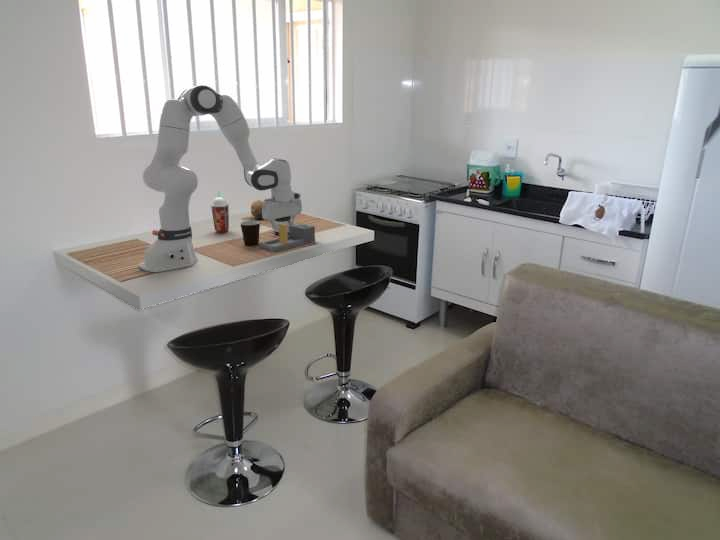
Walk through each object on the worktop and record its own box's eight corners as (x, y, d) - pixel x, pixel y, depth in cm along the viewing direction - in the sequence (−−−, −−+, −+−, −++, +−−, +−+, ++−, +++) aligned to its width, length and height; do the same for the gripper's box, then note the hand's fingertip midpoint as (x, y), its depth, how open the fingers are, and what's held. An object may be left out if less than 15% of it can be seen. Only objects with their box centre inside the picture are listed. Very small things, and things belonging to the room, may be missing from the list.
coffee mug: (256, 247, 239) (255, 225, 236) (238, 246, 240) (237, 224, 237) (266, 240, 250) (265, 219, 246) (249, 239, 251) (247, 218, 248)
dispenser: (274, 251, 232) (273, 234, 230) (260, 247, 238) (259, 231, 236) (314, 241, 249) (314, 225, 246) (300, 237, 255) (300, 221, 253)
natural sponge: (270, 216, 297) (269, 199, 294) (265, 220, 289) (264, 202, 286) (254, 216, 298) (253, 198, 295) (249, 219, 290) (247, 201, 287)
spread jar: (283, 236, 257) (282, 212, 253) (264, 233, 262) (263, 210, 258) (298, 231, 266) (297, 208, 263) (280, 228, 272) (278, 205, 268)
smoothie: (234, 231, 267) (231, 191, 260) (221, 234, 260) (218, 193, 254) (222, 228, 271) (219, 189, 265) (209, 232, 264) (206, 192, 258)
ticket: (286, 244, 240) (285, 225, 237) (279, 242, 243) (278, 223, 240) (288, 244, 240) (287, 224, 237) (280, 242, 244) (279, 223, 241)
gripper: (267, 200, 225) (269, 232, 230) (303, 193, 240) (304, 223, 244) (258, 198, 229) (259, 229, 234) (294, 192, 244) (295, 221, 248)
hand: (283, 226), depth 239 cm, fingers open, 8 cm apart
